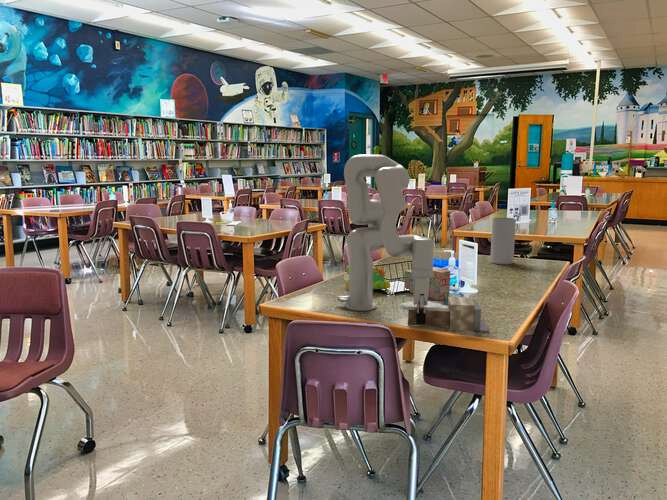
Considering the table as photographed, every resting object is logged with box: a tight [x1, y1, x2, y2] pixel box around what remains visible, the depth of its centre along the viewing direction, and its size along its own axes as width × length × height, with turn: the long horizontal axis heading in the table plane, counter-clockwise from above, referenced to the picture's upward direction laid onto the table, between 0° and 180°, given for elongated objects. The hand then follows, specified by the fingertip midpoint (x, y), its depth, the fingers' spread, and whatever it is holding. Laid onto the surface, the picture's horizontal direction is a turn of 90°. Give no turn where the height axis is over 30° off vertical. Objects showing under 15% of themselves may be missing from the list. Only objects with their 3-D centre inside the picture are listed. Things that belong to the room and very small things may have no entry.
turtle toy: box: [345, 264, 391, 291], centre depth 263 cm, size 17×23×12 cm
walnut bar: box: [407, 306, 450, 328], centre depth 209 cm, size 18×5×6 cm, turn 83°
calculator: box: [399, 300, 448, 310], centre depth 230 cm, size 13×20×2 cm, turn 41°
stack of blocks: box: [404, 266, 452, 301], centre depth 253 cm, size 21×6×12 cm, turn 37°
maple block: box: [447, 296, 475, 331], centre depth 208 cm, size 8×11×9 cm
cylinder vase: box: [490, 216, 517, 266], centre depth 327 cm, size 12×12×25 cm
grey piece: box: [471, 298, 490, 333], centre depth 207 cm, size 5×14×8 cm, turn 174°
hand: (420, 321), depth 210 cm, fingers open, 5 cm apart
